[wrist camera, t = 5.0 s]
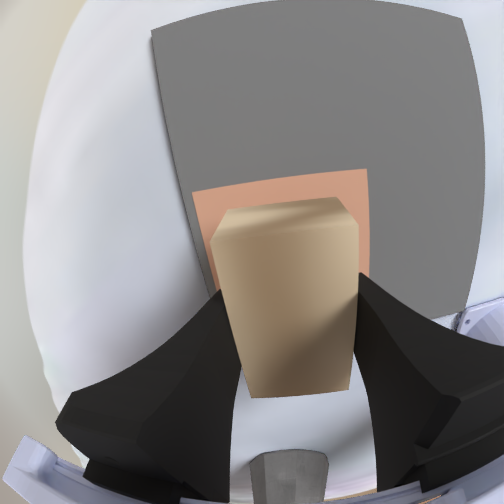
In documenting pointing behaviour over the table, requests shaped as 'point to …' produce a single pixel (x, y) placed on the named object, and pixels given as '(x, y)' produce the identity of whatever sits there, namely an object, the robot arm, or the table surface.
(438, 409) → the robot arm
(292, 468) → the coffeepot
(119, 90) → the table surface
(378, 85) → the mat
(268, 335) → the card box
